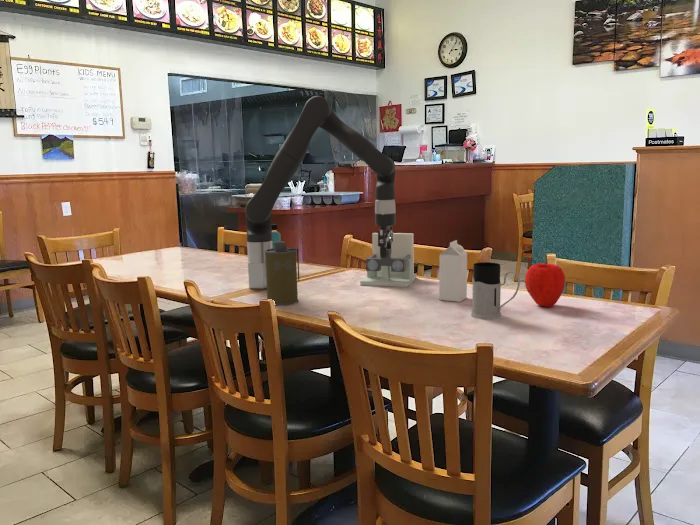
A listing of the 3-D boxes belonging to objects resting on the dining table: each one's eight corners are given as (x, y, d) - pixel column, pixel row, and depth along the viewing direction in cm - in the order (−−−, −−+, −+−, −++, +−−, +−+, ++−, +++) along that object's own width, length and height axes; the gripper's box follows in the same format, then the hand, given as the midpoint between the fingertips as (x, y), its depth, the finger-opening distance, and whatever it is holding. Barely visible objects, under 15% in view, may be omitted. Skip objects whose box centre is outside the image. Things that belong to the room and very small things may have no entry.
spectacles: (404, 272, 209) (404, 250, 207) (366, 270, 213) (365, 249, 212) (410, 266, 220) (410, 245, 219) (374, 265, 224) (373, 245, 223)
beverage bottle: (281, 270, 247) (279, 224, 243) (266, 270, 247) (264, 224, 244) (283, 267, 253) (281, 223, 250) (268, 268, 253) (266, 223, 250)
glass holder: (479, 310, 171) (479, 261, 169) (524, 317, 162) (526, 265, 160) (465, 316, 165) (465, 265, 162) (512, 324, 156) (513, 270, 153)
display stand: (408, 286, 207) (407, 239, 204) (360, 285, 212) (359, 238, 209) (416, 277, 223) (416, 233, 221) (371, 276, 229) (370, 232, 226)
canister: (269, 306, 182) (266, 244, 178) (264, 299, 192) (261, 241, 188) (302, 303, 185) (300, 242, 181) (296, 297, 195) (294, 239, 191)
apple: (516, 303, 178) (516, 261, 176) (546, 299, 182) (548, 258, 180) (541, 312, 167) (542, 267, 165) (573, 307, 171) (574, 264, 169)
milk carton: (439, 300, 185) (439, 242, 182) (446, 295, 191) (446, 239, 188) (460, 302, 182) (461, 243, 178) (466, 297, 188) (467, 240, 185)
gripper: (379, 210, 217) (380, 252, 219) (370, 213, 203) (371, 258, 206) (399, 210, 215) (399, 253, 217) (391, 213, 201) (391, 259, 204)
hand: (385, 255), depth 211 cm, fingers open, 8 cm apart
